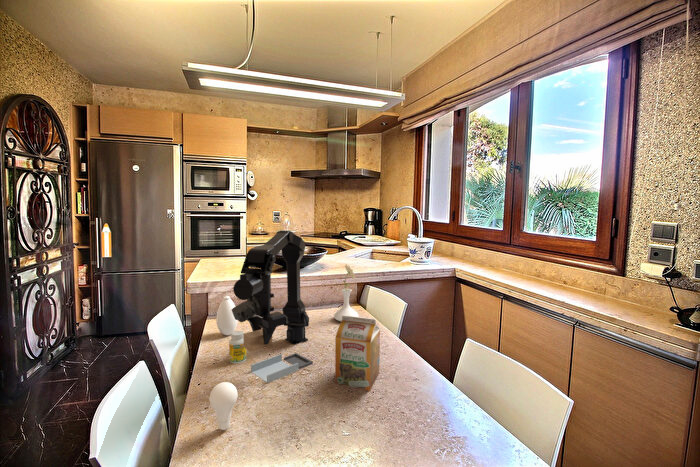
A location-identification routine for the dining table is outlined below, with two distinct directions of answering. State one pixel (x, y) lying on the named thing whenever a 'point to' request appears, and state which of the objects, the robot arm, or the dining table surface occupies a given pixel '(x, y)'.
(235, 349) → the supplement bottle
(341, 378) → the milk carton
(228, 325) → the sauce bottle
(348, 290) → the flower in vase
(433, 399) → the dining table surface
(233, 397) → the lightbulb
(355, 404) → the dining table surface
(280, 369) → the grey bracket
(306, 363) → the dark gray shallow tray
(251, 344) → the block
